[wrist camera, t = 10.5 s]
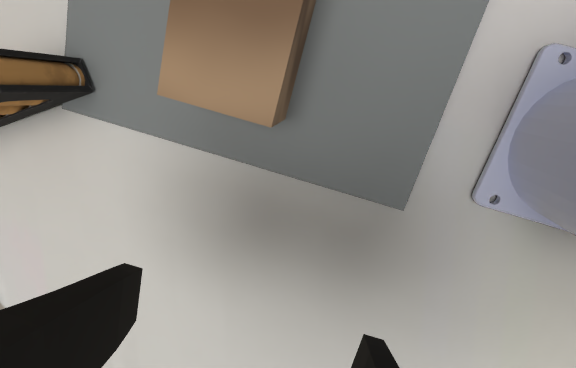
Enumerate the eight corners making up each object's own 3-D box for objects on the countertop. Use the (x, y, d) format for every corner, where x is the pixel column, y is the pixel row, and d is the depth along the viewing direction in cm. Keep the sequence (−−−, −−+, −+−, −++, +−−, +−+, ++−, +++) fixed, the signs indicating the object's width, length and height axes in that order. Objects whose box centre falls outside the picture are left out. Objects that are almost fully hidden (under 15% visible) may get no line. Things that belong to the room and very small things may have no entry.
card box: (284, 119, 17) (271, 127, 14) (195, 93, 18) (156, 94, 14) (336, -79, 15) (337, -139, 11) (229, -107, 15) (194, -173, 11)
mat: (532, -116, 14) (538, -122, 13) (401, 208, 18) (403, 210, 18) (88, -224, 15) (81, -232, 14) (67, 108, 19) (62, 108, 19)
